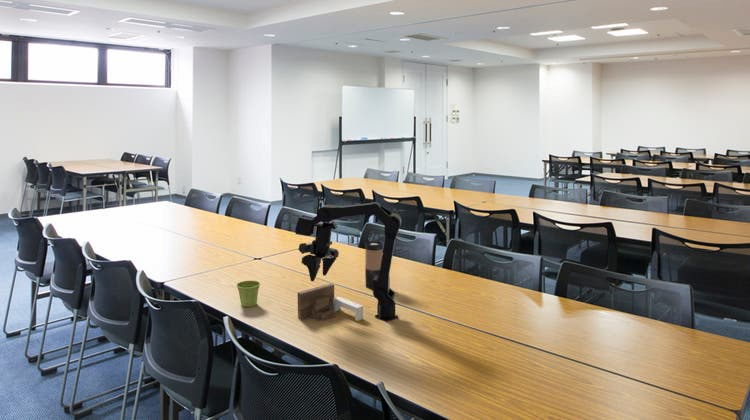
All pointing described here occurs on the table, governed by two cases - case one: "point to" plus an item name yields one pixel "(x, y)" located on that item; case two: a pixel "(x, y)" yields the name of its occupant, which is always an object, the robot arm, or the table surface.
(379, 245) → the travel mug
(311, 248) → the robot arm
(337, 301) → the bed rail
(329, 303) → the brown wooden block
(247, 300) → the plant pot
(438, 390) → the table surface
